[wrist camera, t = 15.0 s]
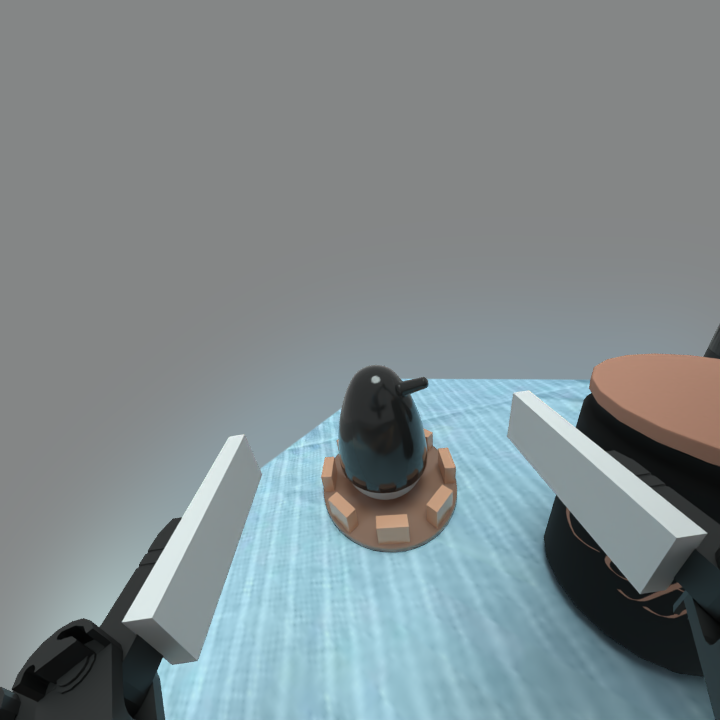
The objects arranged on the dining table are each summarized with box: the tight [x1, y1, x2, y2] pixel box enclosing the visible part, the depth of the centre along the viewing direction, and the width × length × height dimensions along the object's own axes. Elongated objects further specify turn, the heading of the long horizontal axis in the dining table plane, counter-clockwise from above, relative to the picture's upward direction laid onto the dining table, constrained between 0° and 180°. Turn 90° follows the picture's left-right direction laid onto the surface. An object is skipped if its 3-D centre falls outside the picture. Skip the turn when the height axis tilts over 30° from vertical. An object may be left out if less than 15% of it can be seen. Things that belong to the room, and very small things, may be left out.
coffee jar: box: [544, 354, 720, 677], centre depth 17 cm, size 11×11×18 cm
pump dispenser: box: [338, 365, 428, 500], centre depth 28 cm, size 10×10×15 cm
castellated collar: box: [321, 428, 457, 552], centre depth 31 cm, size 16×16×3 cm
